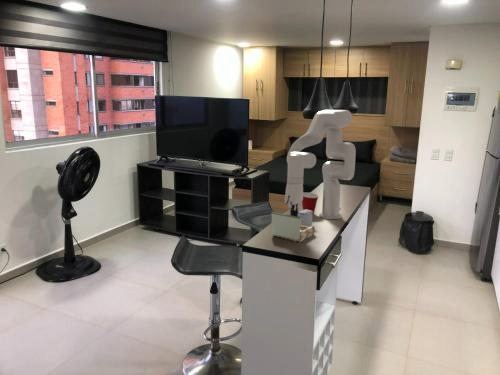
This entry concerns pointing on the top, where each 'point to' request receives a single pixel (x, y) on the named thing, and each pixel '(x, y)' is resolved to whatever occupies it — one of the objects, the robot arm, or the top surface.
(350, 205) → the top surface
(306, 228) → the beige square tray
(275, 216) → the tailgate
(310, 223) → the medicine box
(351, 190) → the top surface
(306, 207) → the plastic cup
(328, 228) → the top surface
